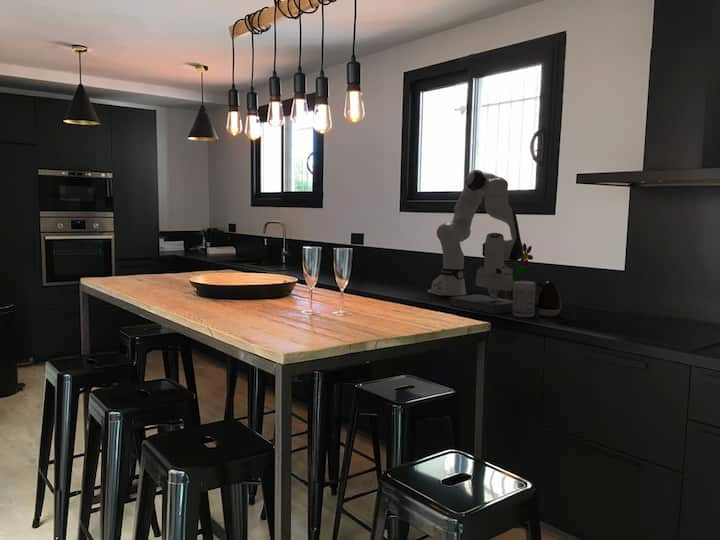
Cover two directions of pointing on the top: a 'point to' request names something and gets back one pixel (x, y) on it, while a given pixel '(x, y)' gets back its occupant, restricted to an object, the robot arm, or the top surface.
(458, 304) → the board
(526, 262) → the flowerpot
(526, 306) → the supplement tub
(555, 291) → the dark brown egg shape
